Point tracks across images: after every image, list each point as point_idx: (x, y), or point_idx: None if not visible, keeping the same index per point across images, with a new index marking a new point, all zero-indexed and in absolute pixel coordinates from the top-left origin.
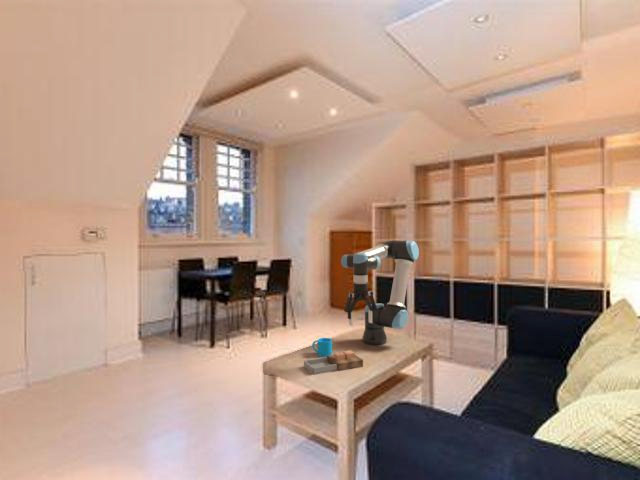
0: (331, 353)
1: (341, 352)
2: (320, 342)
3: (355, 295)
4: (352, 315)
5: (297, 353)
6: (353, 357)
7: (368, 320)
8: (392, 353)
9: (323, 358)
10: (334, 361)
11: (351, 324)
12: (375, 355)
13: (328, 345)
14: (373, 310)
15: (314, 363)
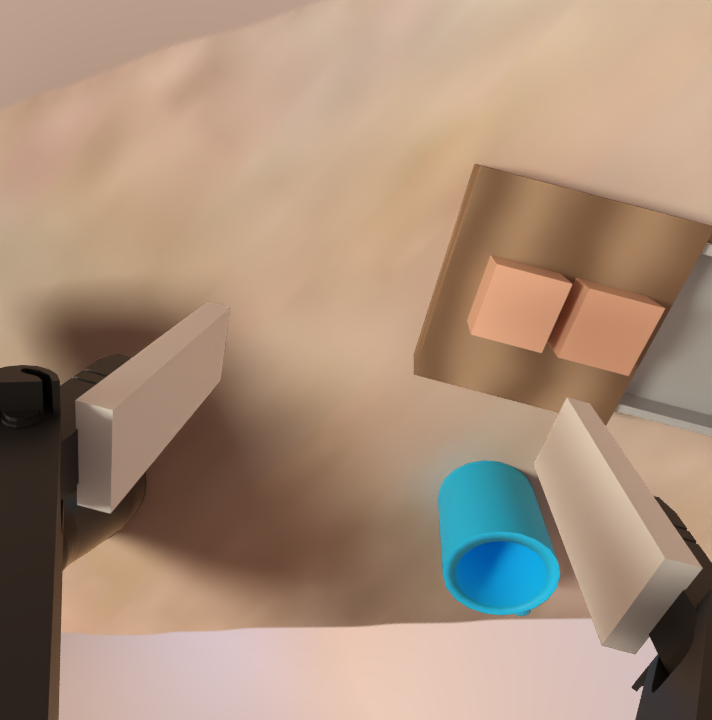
0: (467, 471)
1: (573, 341)
2: (557, 563)
3: None
4: (646, 519)
5: None
6: (500, 258)
7: (211, 391)
8: (100, 224)
9: (647, 410)
10: (673, 298)
11: (597, 416)
12: (233, 276)
13: (510, 512)
14: (27, 397)
15: (703, 415)
